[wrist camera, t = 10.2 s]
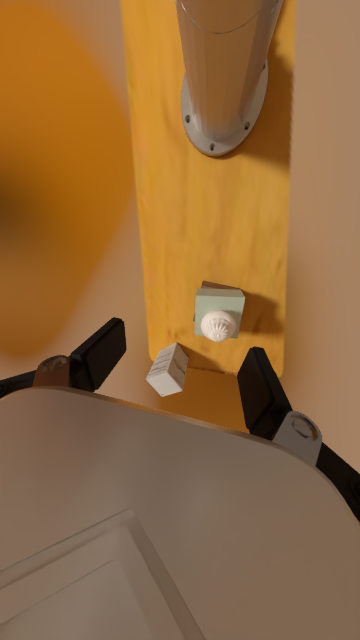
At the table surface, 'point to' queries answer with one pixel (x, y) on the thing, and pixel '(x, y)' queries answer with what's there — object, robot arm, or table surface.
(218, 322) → the muffin
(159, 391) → the supplement box
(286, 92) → the table surface
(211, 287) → the bottom block
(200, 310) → the top block
